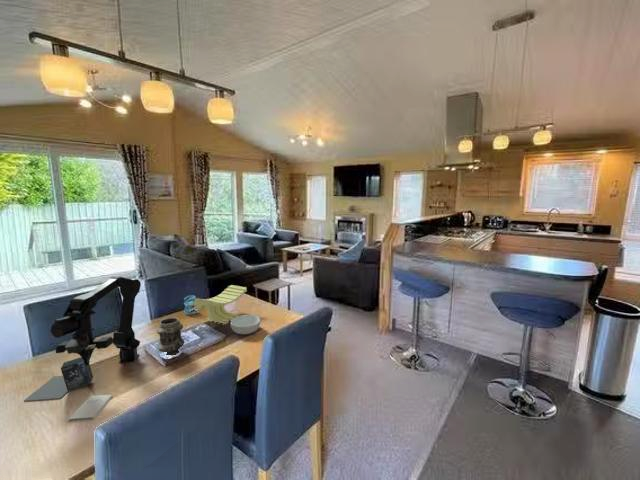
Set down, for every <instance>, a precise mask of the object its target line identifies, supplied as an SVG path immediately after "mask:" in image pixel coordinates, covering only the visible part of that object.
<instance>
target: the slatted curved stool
mask: <svg viewBox="0 0 640 480" xmlns="http://www.w3.org/2000/svg"><path fill="white" fill-rule="evenodd" d="M246 292H248V289H247V286H240V285H234V284H231V285H228V286H227V287H226V288H224V290H223V291H221V293H220V294H217V295H216V296H214V297H211V298H206V299H205V298H199V297H196V299H195V300H194V299H193V301H194V308H193V309H196V310H197V311H201V310H202V309H205V310H206V316H207V319H208V321H209V322H212V321H214V322H213V323H216V322H219V323H218V324H220V323H223V324H222V325H224V324H225V325H227V324H229V323H230V322H229V321H231V320H232V319H234V318H235V317H238V316H239V315H238V314H235V313H232V312H229V311H227V310H226V309H225V306H227V305H229V304H233V302H236V301H239V298H242V296H243V295H245V293H246ZM228 322H229V323H228ZM226 323H227V324H226Z"/></svg>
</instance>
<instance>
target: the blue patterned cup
mask: <svg viewBox="0 0 640 480" xmlns="http://www.w3.org/2000/svg"><path fill="white" fill-rule="evenodd" d="M196 298H197V297H196V296H195V295H193V294H191V295H187V296H185V297H184V298H183V299H184V302H183V305H184V311H183V314H184V315H185V316H188V315H189V316H190V314H191V315H196V313H197V314H200V310H196V309H194V308H192V307H193V306H194V300H195V299H196ZM191 308H192V309H191ZM193 310H194V311H193ZM191 311H192V312H191ZM196 311H197V312H196Z"/></svg>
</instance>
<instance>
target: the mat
mask: <svg viewBox="0 0 640 480" xmlns="http://www.w3.org/2000/svg"><path fill="white" fill-rule="evenodd" d="M68 392H70V391H68V390H67V387H66V384H65V381H64V378H63V375H54V376H52V377H51V378H50V379H49V380H47V381H46V382H45V383H43V384H42V385H41V386H39V388H37V389H36V390H35V391H33V392H32V393H31V394H30V395H28V396H27V397H26V398H25V399H24V400H23V402H35V401H38V402H39V401H47V400H48V401H49V400H61V399H62V398H63V397H64V396H65V395H67V394H68Z"/></svg>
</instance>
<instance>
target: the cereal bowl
mask: <svg viewBox="0 0 640 480" xmlns="http://www.w3.org/2000/svg"><path fill="white" fill-rule="evenodd" d="M260 325H261V318H260V317H259V316H257V315H254V314H243V315H238V317H235V318H234V319H232V320H231V322H230V328H231V329H232V331H233V332H234V333H236V334H238V335H239V334H240V335H243V336H244V335H245V336H246V335H250V334H252V333H254V332H256V331H257V330H258V329H259V328H260Z"/></svg>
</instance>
